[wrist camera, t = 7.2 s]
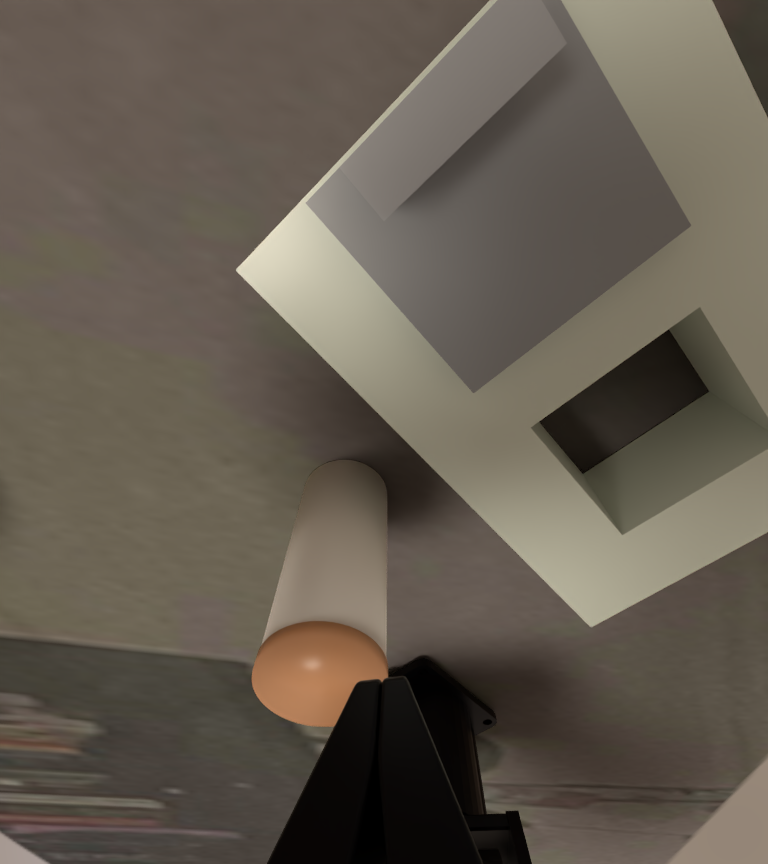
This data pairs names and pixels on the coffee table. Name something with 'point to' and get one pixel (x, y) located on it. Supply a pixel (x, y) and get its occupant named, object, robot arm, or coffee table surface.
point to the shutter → (502, 191)
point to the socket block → (591, 337)
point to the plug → (328, 599)
